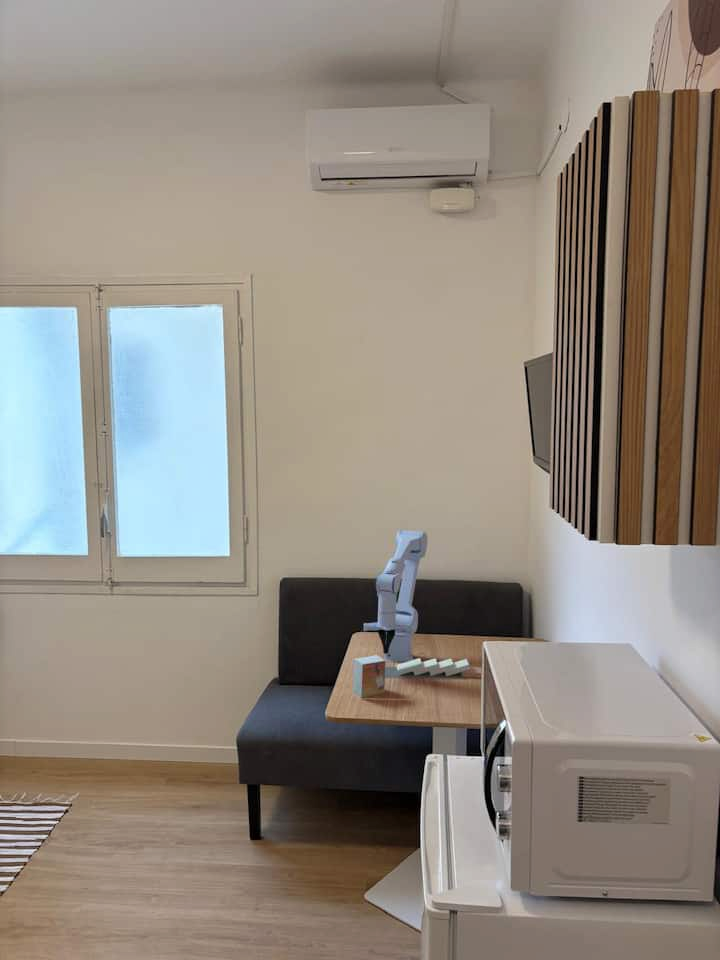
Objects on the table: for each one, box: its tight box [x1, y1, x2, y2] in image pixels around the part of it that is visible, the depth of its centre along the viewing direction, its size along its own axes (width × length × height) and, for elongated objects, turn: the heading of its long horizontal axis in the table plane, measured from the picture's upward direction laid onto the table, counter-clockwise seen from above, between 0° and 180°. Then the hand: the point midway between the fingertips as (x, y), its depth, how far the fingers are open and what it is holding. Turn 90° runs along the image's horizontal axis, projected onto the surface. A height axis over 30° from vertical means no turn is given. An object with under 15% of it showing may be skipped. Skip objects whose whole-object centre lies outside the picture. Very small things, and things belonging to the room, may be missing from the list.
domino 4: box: [445, 658, 471, 676], centre depth 220 cm, size 2×5×8 cm
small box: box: [352, 654, 386, 699], centre depth 203 cm, size 8×6×10 cm
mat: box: [385, 666, 466, 680], centre depth 220 cm, size 27×9×1 cm, turn 91°
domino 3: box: [429, 658, 455, 676], centre depth 220 cm, size 2×5×8 cm
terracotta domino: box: [460, 666, 482, 678], centre depth 220 cm, size 2×5×8 cm
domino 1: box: [396, 657, 423, 675], centre depth 220 cm, size 2×5×8 cm
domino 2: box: [413, 657, 439, 675], centre depth 220 cm, size 2×5×8 cm
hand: (385, 652), depth 219 cm, fingers closed
